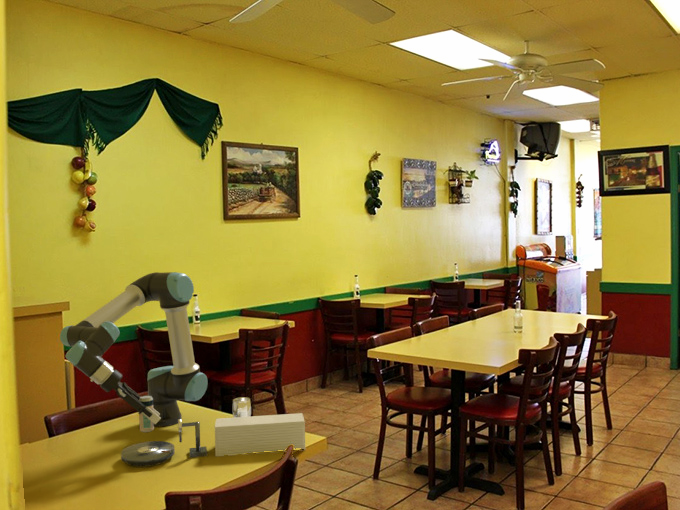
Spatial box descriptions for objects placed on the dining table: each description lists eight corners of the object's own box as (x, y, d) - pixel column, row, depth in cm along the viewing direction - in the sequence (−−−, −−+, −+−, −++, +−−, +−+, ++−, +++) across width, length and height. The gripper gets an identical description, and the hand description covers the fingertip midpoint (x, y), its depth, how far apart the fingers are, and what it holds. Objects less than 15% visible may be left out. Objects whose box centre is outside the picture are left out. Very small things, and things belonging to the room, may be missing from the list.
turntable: (109, 460, 218) (109, 454, 218) (144, 444, 235) (144, 438, 234) (152, 466, 211) (152, 460, 211) (184, 449, 228) (184, 443, 228)
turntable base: (118, 463, 219) (118, 460, 219) (145, 450, 232) (145, 447, 232) (151, 468, 214) (151, 464, 214) (177, 454, 227) (176, 451, 227)
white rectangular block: (303, 441, 239) (302, 413, 239) (305, 450, 229) (304, 421, 228) (217, 447, 235) (216, 418, 235) (215, 457, 224) (214, 427, 224)
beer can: (148, 427, 226) (147, 394, 225) (156, 430, 223) (155, 396, 222) (137, 431, 222) (136, 397, 222) (144, 433, 219) (143, 399, 219)
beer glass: (250, 440, 241) (249, 401, 240) (232, 440, 241) (230, 401, 240) (253, 434, 248) (252, 396, 247) (235, 435, 248) (234, 397, 247)
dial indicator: (179, 453, 228) (178, 417, 228) (206, 450, 231) (205, 414, 230) (179, 458, 222) (178, 421, 222) (207, 455, 225) (206, 419, 224)
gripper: (99, 380, 226) (149, 420, 231) (97, 391, 209) (151, 434, 214) (115, 364, 227) (164, 404, 233) (114, 373, 210) (166, 417, 216)
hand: (157, 418), depth 224 cm, fingers closed on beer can, 5 cm apart
